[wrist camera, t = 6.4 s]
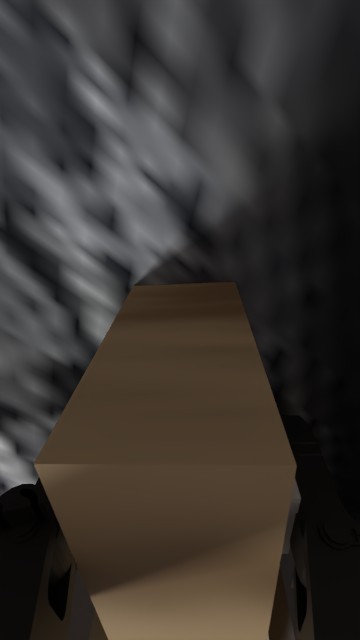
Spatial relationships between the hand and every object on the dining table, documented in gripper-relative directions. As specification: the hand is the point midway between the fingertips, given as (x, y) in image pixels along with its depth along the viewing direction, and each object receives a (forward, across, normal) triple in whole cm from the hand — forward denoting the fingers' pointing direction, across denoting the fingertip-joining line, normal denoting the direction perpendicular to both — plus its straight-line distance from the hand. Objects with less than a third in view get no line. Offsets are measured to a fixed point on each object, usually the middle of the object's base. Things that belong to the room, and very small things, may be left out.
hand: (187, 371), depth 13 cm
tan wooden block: (+1, 0, -6) cm, 6 cm away
